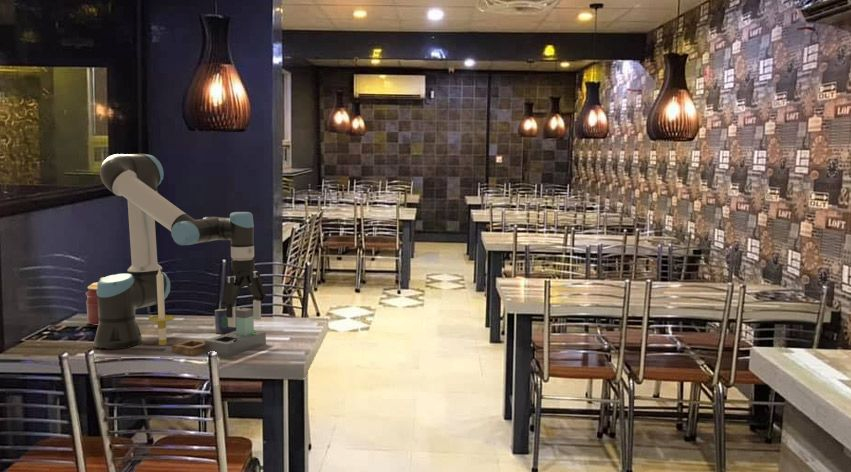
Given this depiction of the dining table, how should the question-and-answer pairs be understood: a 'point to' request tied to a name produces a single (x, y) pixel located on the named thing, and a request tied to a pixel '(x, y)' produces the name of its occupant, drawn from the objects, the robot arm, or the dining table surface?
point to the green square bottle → (244, 321)
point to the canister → (92, 304)
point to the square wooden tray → (189, 347)
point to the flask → (223, 322)
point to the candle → (161, 311)
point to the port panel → (234, 343)
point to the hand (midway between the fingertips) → (244, 323)
